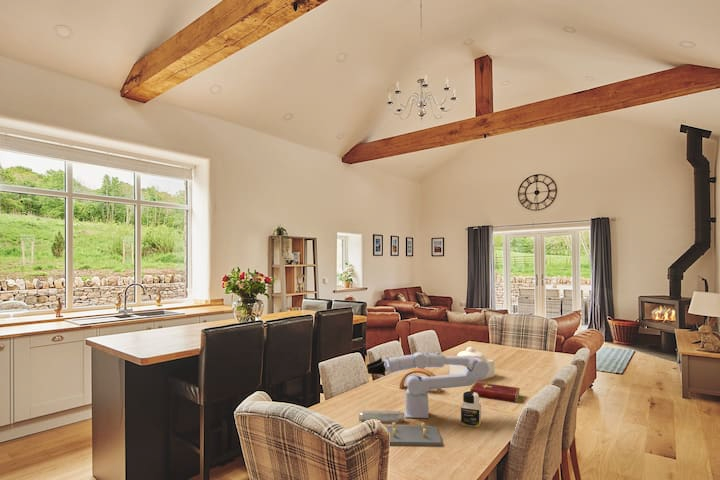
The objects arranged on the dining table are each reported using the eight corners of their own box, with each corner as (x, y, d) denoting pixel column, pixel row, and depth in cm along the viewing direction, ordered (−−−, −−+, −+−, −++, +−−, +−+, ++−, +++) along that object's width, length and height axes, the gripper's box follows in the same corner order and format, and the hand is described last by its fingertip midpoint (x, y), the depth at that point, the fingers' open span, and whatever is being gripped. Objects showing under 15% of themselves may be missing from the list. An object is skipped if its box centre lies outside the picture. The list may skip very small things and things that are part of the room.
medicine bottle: (461, 425, 167) (460, 394, 168) (463, 418, 174) (463, 389, 174) (479, 427, 165) (479, 396, 165) (481, 420, 171) (480, 391, 172)
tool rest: (436, 429, 163) (436, 419, 163) (441, 445, 149) (441, 434, 149) (379, 428, 164) (379, 418, 164) (379, 444, 150) (379, 433, 150)
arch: (402, 385, 218) (402, 366, 219) (441, 390, 211) (440, 369, 212) (399, 389, 213) (399, 369, 213) (439, 393, 206) (438, 372, 206)
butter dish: (494, 376, 235) (494, 347, 235) (472, 382, 224) (472, 352, 225) (470, 369, 249) (469, 342, 250) (448, 374, 239) (448, 346, 240)
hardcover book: (516, 404, 192) (516, 394, 192) (470, 396, 202) (470, 387, 203) (520, 396, 203) (520, 387, 203) (476, 389, 213) (476, 381, 213)
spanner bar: (403, 419, 173) (403, 410, 173) (404, 422, 170) (404, 413, 170) (359, 418, 174) (359, 410, 174) (358, 422, 170) (358, 413, 171)
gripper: (395, 351, 186) (365, 356, 186) (399, 357, 172) (366, 362, 172) (398, 367, 186) (367, 372, 185) (402, 374, 171) (369, 380, 171)
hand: (367, 369), depth 178 cm, fingers open, 7 cm apart
